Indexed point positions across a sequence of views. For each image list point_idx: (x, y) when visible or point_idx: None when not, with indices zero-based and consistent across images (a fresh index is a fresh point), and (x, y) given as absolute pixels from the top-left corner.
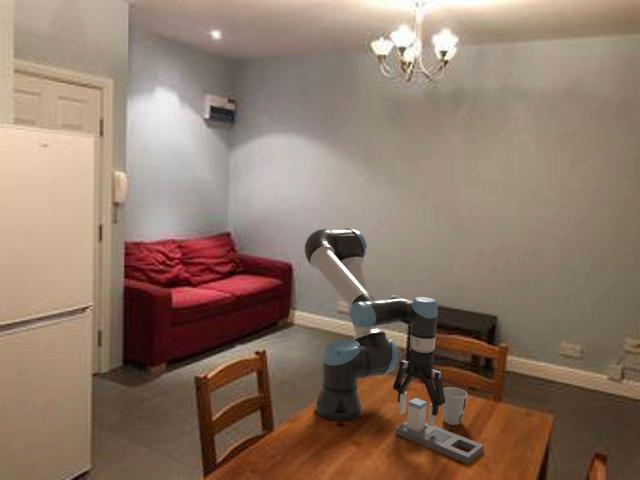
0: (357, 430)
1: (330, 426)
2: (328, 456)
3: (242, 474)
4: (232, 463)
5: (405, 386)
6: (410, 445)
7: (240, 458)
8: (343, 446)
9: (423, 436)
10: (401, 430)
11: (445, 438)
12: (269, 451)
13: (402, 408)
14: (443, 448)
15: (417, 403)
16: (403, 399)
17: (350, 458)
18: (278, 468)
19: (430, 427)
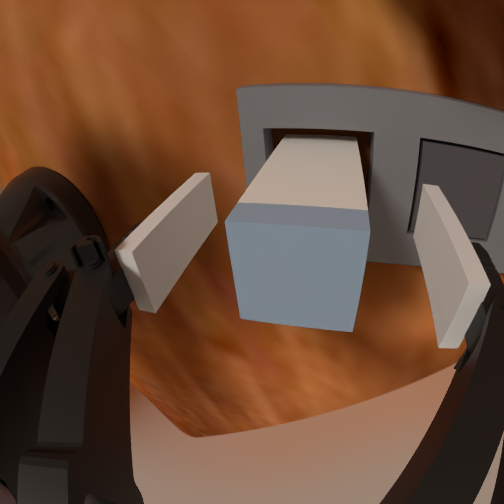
0: None
1: None
2: (233, 397)
3: (204, 436)
4: (176, 426)
5: (123, 367)
6: None
7: (169, 419)
8: (219, 366)
9: (399, 246)
10: None
11: (490, 197)
12: (168, 405)
13: (200, 229)
14: None
15: (315, 313)
16: (171, 266)
17: (269, 391)
18: (216, 426)
19: (385, 128)
